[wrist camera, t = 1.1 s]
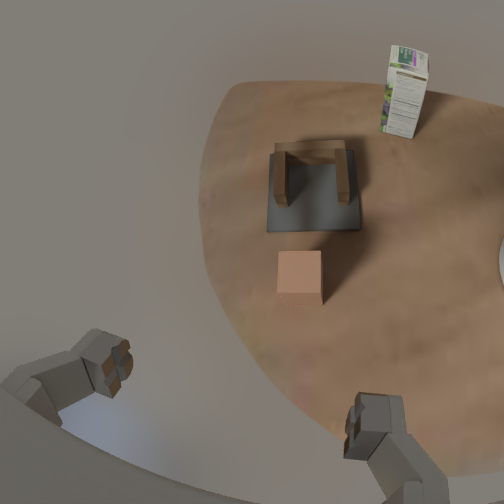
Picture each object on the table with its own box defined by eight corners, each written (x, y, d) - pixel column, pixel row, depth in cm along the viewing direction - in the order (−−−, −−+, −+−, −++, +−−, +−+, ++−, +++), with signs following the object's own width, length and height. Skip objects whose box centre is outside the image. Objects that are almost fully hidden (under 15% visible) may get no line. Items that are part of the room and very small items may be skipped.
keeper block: (323, 271, 42) (320, 250, 34) (322, 305, 40) (320, 292, 32) (289, 272, 43) (278, 251, 35) (288, 305, 42) (277, 292, 33)
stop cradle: (353, 152, 46) (353, 134, 42) (360, 230, 42) (363, 216, 38) (270, 156, 49) (264, 138, 45) (267, 232, 45) (260, 219, 41)
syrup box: (383, 108, 47) (389, 42, 34) (415, 116, 46) (429, 52, 32) (379, 132, 46) (386, 65, 33) (413, 140, 44) (430, 75, 31)
